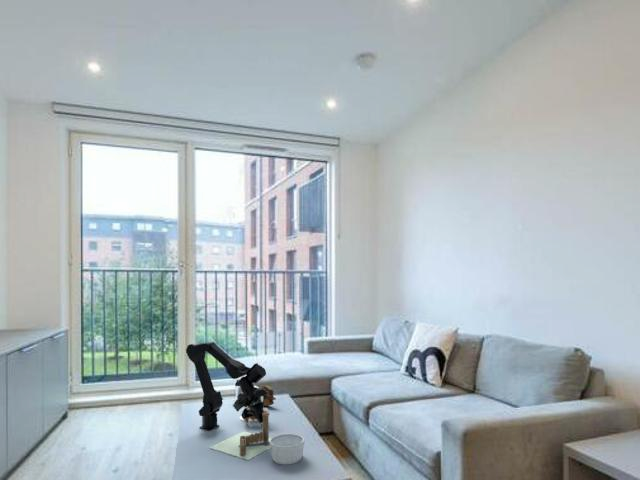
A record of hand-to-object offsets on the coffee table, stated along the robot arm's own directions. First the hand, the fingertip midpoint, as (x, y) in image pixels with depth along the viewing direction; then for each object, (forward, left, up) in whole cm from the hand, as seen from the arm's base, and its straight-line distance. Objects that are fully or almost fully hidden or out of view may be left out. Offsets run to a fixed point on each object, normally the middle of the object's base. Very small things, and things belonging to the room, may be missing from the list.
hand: (261, 422), depth 174 cm
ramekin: (+19, -7, -8) cm, 21 cm away
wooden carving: (-30, +38, -8) cm, 49 cm away
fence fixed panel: (-1, -11, -8) cm, 13 cm away
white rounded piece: (-23, +20, -8) cm, 32 cm away
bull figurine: (-14, +13, -8) cm, 21 cm away
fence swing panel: (0, -2, -7) cm, 7 cm away
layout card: (-3, -6, -8) cm, 10 cm away
